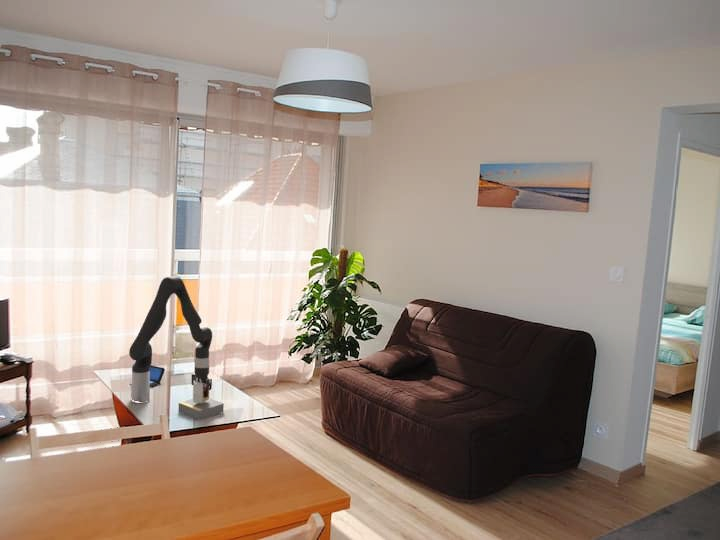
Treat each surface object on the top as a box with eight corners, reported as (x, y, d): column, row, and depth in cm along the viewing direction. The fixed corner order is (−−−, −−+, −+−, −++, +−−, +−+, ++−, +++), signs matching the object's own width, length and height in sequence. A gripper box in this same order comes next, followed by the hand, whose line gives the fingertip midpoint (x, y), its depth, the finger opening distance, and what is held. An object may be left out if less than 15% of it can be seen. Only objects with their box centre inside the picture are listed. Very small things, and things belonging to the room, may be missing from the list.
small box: (202, 403, 318) (202, 384, 316) (192, 402, 319) (192, 383, 317) (209, 399, 325) (209, 380, 324) (199, 397, 327) (200, 378, 325)
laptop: (129, 384, 361) (129, 369, 360) (144, 378, 374) (144, 363, 372) (150, 388, 356) (150, 373, 354) (165, 382, 368) (165, 367, 367)
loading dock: (178, 412, 321) (178, 402, 321) (202, 404, 334) (202, 395, 334) (199, 420, 311) (199, 410, 311) (223, 412, 324) (223, 402, 324)
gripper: (187, 363, 321) (186, 393, 323) (205, 369, 312) (204, 400, 315) (198, 361, 327) (198, 390, 329) (216, 366, 318) (215, 397, 321)
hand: (201, 395), depth 322 cm, fingers closed on small box, 7 cm apart
